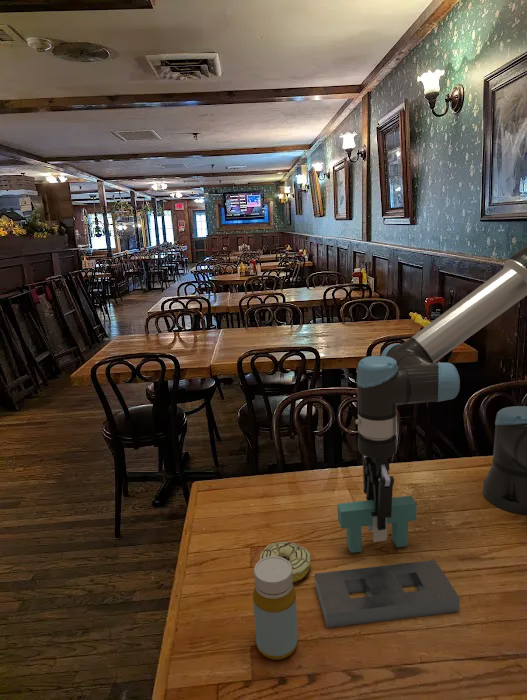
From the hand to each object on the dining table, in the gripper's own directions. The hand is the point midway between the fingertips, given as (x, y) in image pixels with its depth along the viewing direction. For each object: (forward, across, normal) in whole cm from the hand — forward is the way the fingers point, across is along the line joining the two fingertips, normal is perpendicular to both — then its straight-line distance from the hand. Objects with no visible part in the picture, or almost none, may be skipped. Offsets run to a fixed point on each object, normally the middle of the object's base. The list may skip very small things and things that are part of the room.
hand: (376, 534), depth 103 cm
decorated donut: (+4, +3, -20) cm, 21 cm away
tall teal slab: (+3, 0, 0) cm, 3 cm away
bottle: (+3, +21, -24) cm, 32 cm away
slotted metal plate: (+3, +14, -3) cm, 15 cm away
